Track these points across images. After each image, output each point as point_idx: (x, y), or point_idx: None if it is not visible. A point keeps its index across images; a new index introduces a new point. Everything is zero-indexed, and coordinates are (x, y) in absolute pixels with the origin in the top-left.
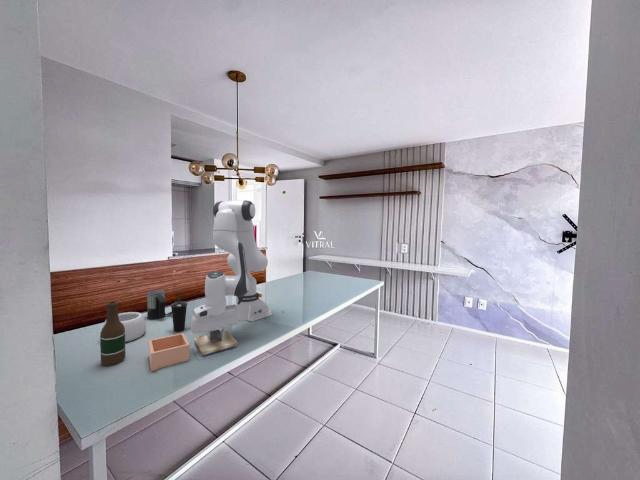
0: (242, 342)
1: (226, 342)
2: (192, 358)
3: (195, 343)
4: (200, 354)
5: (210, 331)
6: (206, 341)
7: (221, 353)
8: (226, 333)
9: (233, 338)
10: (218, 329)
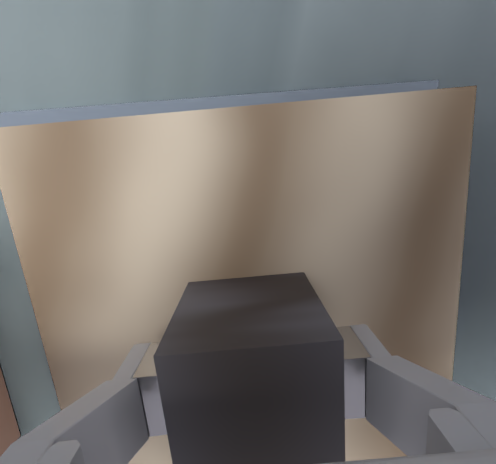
0: (488, 325)
1: (345, 426)
2: (42, 404)
3: None
4: None
5: (166, 361)
6: (144, 306)
7: None
8: (429, 194)
9: (445, 373)
10: (334, 341)
